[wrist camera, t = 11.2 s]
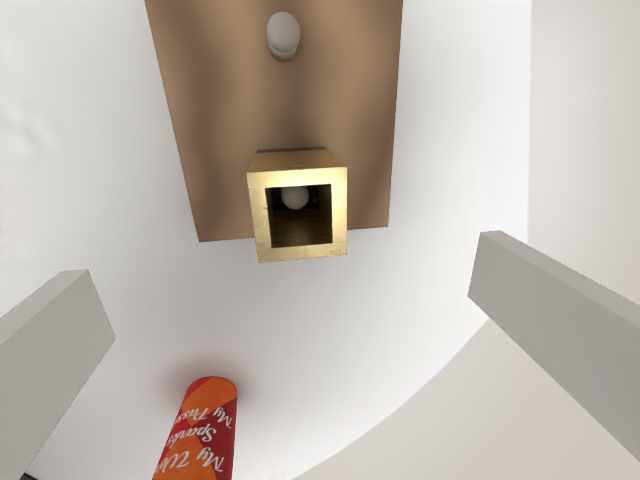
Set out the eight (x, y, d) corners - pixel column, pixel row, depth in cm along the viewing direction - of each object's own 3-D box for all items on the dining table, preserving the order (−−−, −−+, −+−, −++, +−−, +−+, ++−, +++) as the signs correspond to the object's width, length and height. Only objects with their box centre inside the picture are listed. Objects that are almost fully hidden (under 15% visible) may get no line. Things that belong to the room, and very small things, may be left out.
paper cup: (238, 363, 33) (213, 525, 20) (252, 409, 36) (238, 573, 24) (166, 376, 32) (94, 550, 20) (187, 421, 36) (136, 596, 23)
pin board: (204, 232, 26) (181, 272, 20) (148, -31, 19) (82, -99, 12) (380, 218, 28) (410, 251, 22) (394, -29, 20) (445, -88, 14)
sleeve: (264, 214, 24) (258, 262, 17) (257, 150, 22) (246, 172, 14) (326, 210, 24) (346, 254, 17) (324, 146, 22) (346, 166, 15)
